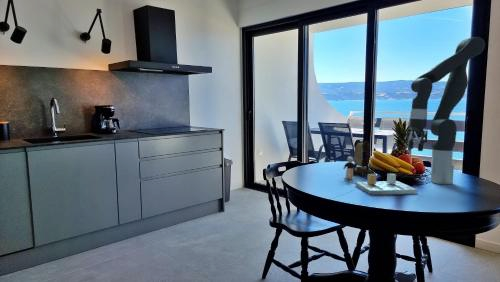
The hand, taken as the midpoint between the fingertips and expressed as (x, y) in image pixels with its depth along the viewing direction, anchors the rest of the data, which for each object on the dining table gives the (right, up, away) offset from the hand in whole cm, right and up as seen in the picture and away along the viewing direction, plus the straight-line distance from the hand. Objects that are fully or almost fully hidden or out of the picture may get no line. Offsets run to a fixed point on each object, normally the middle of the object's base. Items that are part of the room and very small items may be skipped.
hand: (415, 149), depth 170 cm
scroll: (-19, -15, +26) cm, 35 cm away
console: (-20, -19, -11) cm, 30 cm away
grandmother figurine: (-30, -17, +12) cm, 36 cm away
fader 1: (-25, -16, -8) cm, 31 cm away
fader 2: (-16, -16, -7) cm, 23 cm away
